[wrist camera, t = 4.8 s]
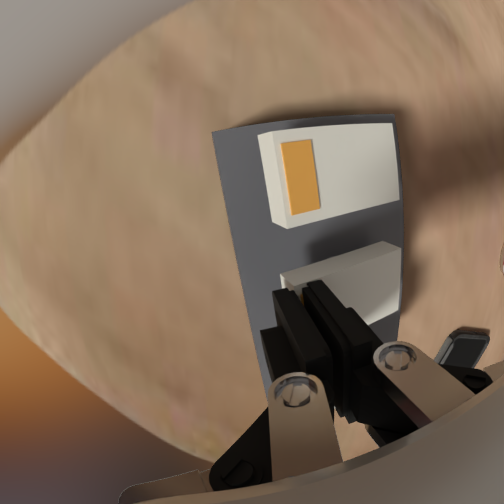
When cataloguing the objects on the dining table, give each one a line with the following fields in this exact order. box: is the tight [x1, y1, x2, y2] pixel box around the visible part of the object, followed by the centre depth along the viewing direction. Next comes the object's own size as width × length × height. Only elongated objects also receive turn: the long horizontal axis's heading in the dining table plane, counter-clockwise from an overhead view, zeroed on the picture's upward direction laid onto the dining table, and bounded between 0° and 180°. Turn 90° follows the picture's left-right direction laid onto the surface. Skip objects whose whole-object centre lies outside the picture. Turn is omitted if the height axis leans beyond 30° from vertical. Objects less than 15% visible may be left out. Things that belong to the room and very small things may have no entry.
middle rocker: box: [280, 241, 401, 325], centre depth 12 cm, size 5×3×2 cm, turn 99°
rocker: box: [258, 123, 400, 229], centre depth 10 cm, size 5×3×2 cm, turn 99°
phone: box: [433, 330, 490, 368], centre depth 23 cm, size 8×1×15 cm
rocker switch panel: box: [212, 114, 404, 401], centre depth 15 cm, size 8×14×4 cm, turn 10°
